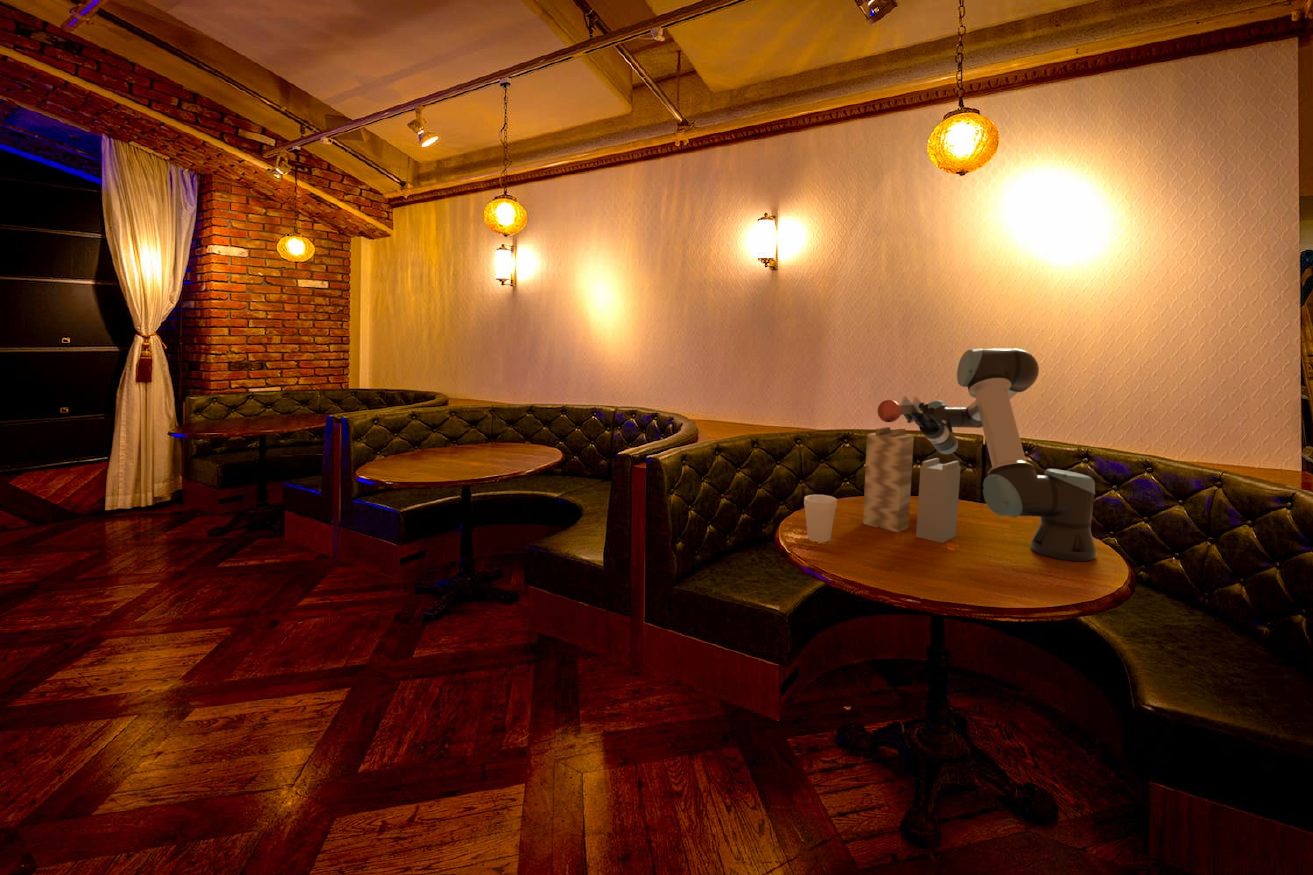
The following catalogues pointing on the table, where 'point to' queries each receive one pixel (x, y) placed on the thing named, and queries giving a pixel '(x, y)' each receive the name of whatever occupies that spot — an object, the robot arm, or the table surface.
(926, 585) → the table surface
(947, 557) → the table surface
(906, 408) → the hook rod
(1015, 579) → the table surface
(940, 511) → the tall grey block
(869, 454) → the beige patterned tall block
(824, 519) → the foam cup
